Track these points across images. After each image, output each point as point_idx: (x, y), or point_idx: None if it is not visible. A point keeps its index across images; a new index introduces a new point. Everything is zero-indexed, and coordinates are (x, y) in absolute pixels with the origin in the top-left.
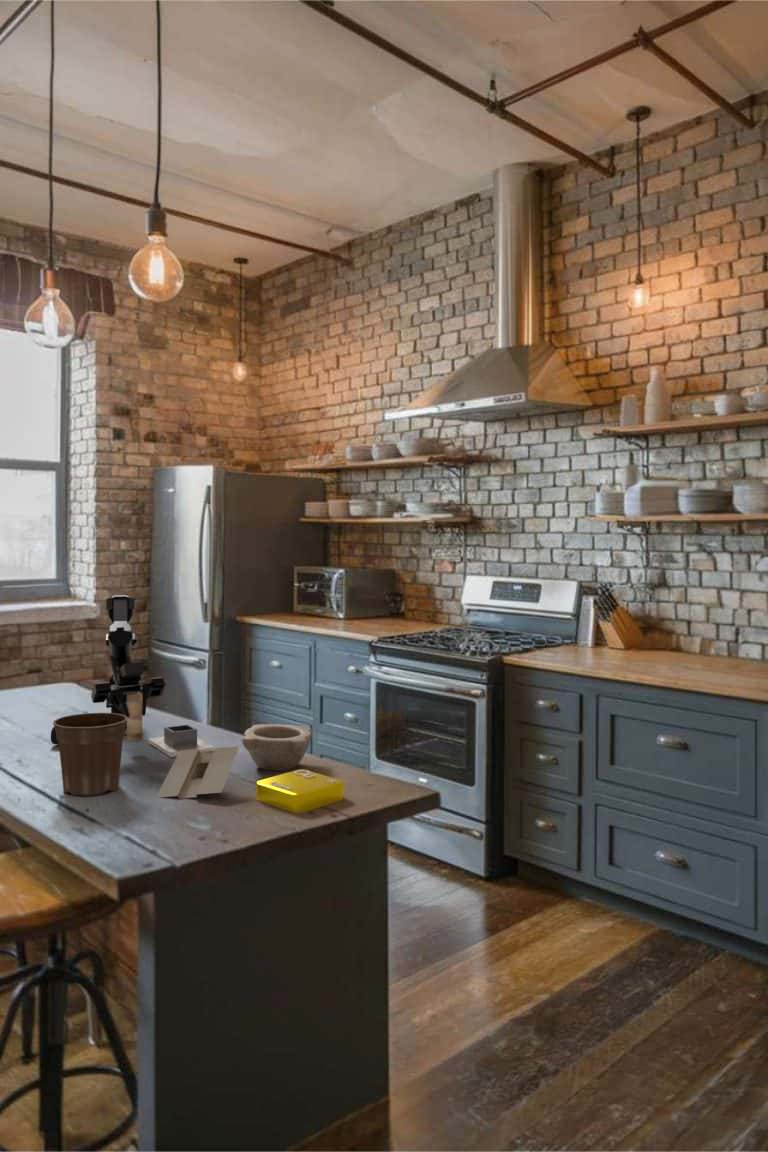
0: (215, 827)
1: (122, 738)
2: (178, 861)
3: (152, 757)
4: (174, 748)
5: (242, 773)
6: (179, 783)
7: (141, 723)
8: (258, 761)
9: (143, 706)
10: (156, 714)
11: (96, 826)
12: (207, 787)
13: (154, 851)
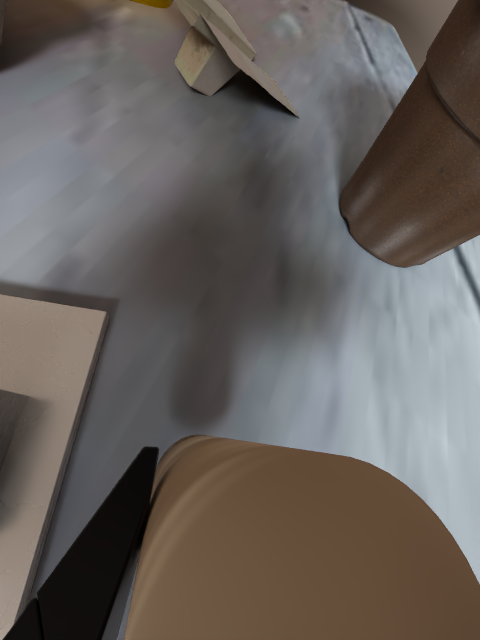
0: (278, 9)
1: (425, 61)
2: (343, 4)
3: (162, 365)
4: (43, 367)
5: (66, 79)
6: (266, 77)
7: (175, 452)
8: (3, 26)
9: (133, 516)
10: None
11: (397, 102)
12: (238, 30)
13: (356, 27)
